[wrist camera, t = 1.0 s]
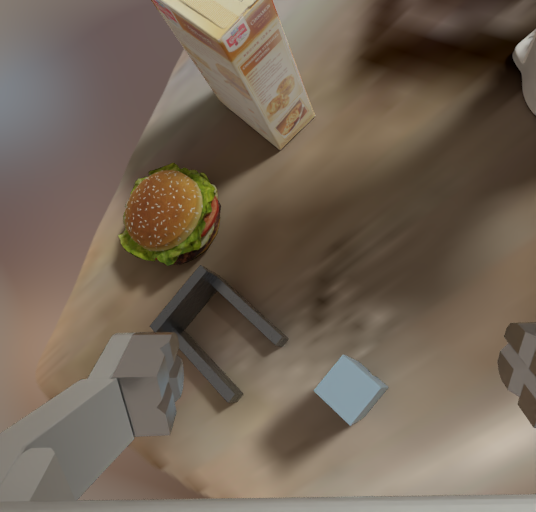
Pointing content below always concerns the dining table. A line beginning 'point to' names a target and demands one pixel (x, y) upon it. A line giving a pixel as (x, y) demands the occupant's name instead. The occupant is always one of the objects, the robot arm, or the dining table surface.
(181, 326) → the rail channel
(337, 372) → the pale blue rectangular prism
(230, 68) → the coffeecake box
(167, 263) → the food
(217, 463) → the dining table surface
